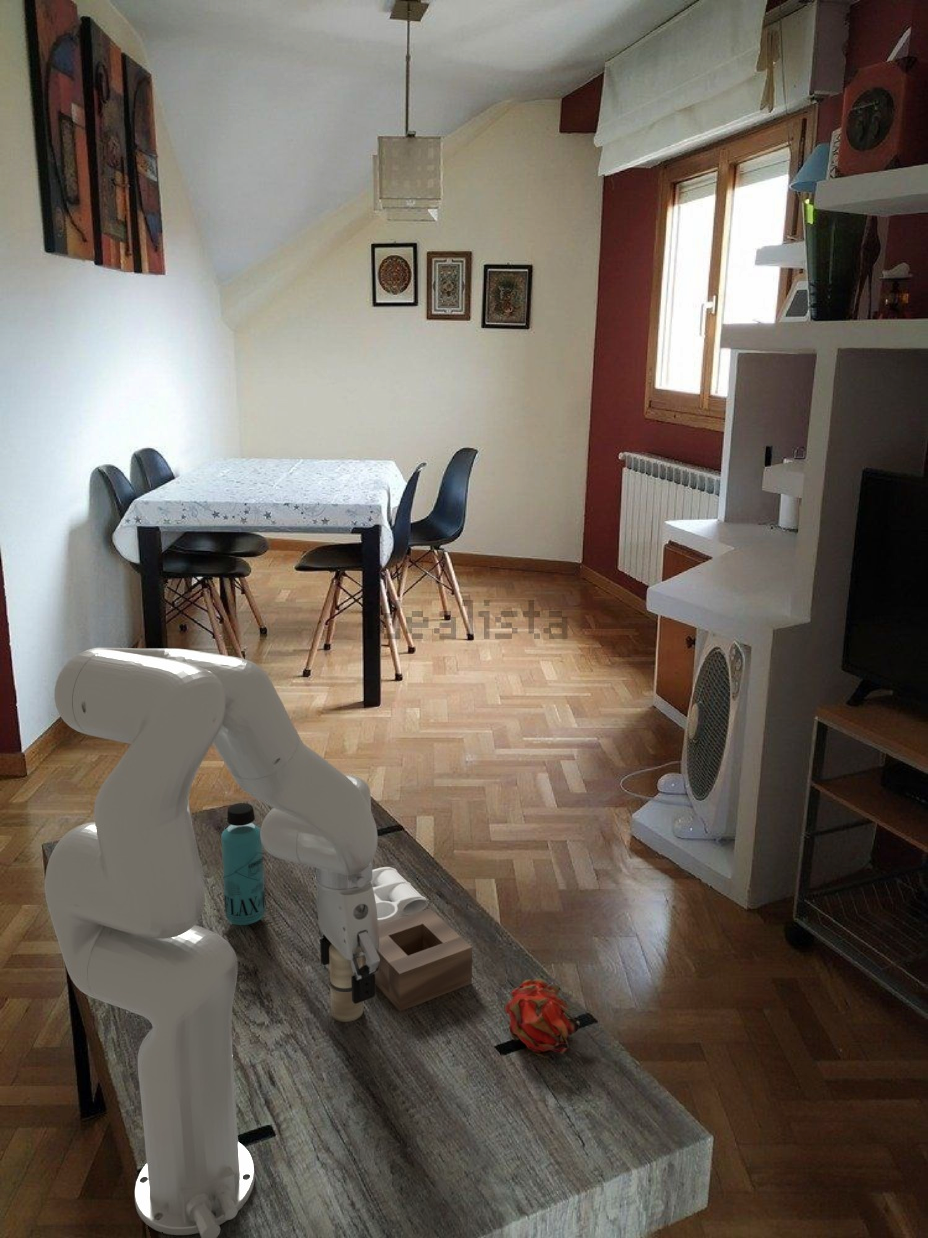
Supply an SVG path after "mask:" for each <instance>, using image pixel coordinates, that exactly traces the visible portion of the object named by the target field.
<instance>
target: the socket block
mask: <svg viewBox="0 0 928 1238" xmlns="http://www.w3.org/2000/svg"><path fill="white" fill-rule="evenodd" d="M378 929H379V950H378V951H377V954H378V956H379V958H380V962H379V965H378V971H377V972H376V973H375V986H376V987H377V988H378V989H380V991H381V992H382V993H383V994H384V995H385V996H386V998H387V1000H389V1002H390V1003H392V1005H393V1006H394V1007H395V1008H396V1009H397V1010H398V1011H399V1012H403V1011H405V1010H407V1009H411V1008H412V1007H416V1006H418V1005H420V1004H424V1003H425V1002H429V1001H431V1000H433V999H436V998H438V997H441V996H444V995H446V994H449V993H451V992H454V991H456V990H459V989H461V988H464V987H466V986H469V985H472V983H473V982H472V981H473V973H472V972H473V947H472V945H471V944H470V943H468V942H467V941H466V940H465V939H464V938H463V937H462V936H461V935H459V934H458V933H457V932H456V930H454V929H453V928H452V927H451V926H450V924H448V923H446V922H445V920H443V919H442V917H441V916H439V915H438V914H437V913H436V912H434V911H433V910H432V909H431V908H427V909H426V908H425V909H424V910H422V911H420V912H417V913H414V914H411V915H408V916H405V917H402V918H400V919H397V920H394V921H391V922H388V923H385V924H382V925H379V926H378ZM365 962H366V958H365V956H362V966H364V965H366V963H365Z"/></svg>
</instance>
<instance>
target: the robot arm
mask: <svg viewBox="0 0 928 1238" xmlns="http://www.w3.org/2000/svg"><path fill="white" fill-rule="evenodd" d="M53 695H54V703H55V707H56V710H57V712H58V715H59V716H60V717H61V719H62V720H63V722H64V723H65V724H67V726H69V727H70V728H71V729H73V730H75V731H76V732H79V733H81V734H84V735H87V736H91V737H95V738H96V737H97V738H101V739H106V740H112V741H115V742H119V743H124V744H129V746H128V748H127V749H126V751H125V753H123V755H122V757H121V759H120V760H119V762H118V763H116V765H115V766H114V768H113V769H112V771H111V772H110V773H109V775H108V776H107V778H105V780H104V782H103V784H102V785H100V788H99V790H98V792H97V794H96V796H95V797H96V798H95V801H94V808H93V820H94V821H93V822H91V821H90V822H86V823H83V824H80V825H77V826H75V827H74V828H71V830H69V831H67V832H66V833H65V834H64V835H63V836H62V838H60V840H59V841H58V842H57V844H56V845H55V846H54V849H53V851H52V852H51V854H50V856H49V860H48V863H47V865H46V870H45V877H44V895H45V900H46V905H47V908H48V912H49V915H50V919H51V922H52V926H53V928H54V932H55V936H56V938H57V941H58V946H59V949H60V952H61V955H62V959H63V961H64V965H65V968H66V970H67V973H68V975H69V977H70V979H71V981H72V982H73V984H74V985H75V987H76V988H77V989H78V990H79V991H80V992H82V993H84V994H85V995H86V996H89V997H90V998H93V999H95V1000H98V1001H101V1002H103V1003H106V1004H109V1005H110V1006H111V1005H112V1006H115V1007H118V1008H120V1009H123V1010H125V1011H129V1012H131V1013H133V1014H136V1015H138V1016H141V1017H143V1018H146V1019H147V1020H148V1021H149V1023H151V1026H152V1028H151V1029H150V1030H149V1031H148V1032H147V1034H146V1036H145V1037H143V1039H142V1042H141V1044H140V1047H139V1049H138V1053H137V1075H138V1083H139V1093H140V1104H141V1112H142V1124H143V1135H144V1146H145V1157H146V1158H145V1159H146V1164H145V1165H144V1166H143V1168H142V1169H141V1170H140V1172H139V1174H138V1176H137V1179H136V1180H135V1186H134V1204H135V1208H136V1212H137V1214H138V1216H139V1217H140V1220H142V1221H143V1223H145V1224H146V1225H147V1226H149V1228H151V1229H153V1230H154V1231H156V1232H160V1233H162V1232H163V1233H162V1234H166V1235H172V1236H173V1235H174V1236H189V1235H195V1234H199V1235H200V1238H218V1236H219V1235H220V1234H221V1227H220V1225H222V1224H224V1223H225V1222H227V1221H229V1220H233V1219H234V1218H235V1217H236V1216H237V1215H238V1212H239V1211H240V1210H241V1209H242V1208H243V1207H244V1205H245V1204H246V1202H247V1201H248V1200H249V1198H250V1196H251V1194H252V1192H253V1189H254V1186H255V1185H254V1184H255V1179H256V1178H255V1175H256V1173H255V1163H254V1161H253V1160H254V1159H253V1157H252V1155H251V1153H250V1151H248V1149H247V1148H246V1147H245V1146H244V1145H243V1144H242V1143H240V1142H239V1137H238V1136H239V1135H238V1134H239V1133H238V1121H237V1105H236V1104H237V1103H236V1102H237V1101H236V1089H235V1087H236V1086H235V1073H234V1072H235V1071H234V1070H235V1069H234V1057H233V1056H234V1055H233V1039H232V1038H233V1037H232V1036H233V1035H232V1017H233V1004H234V996H235V991H236V984H237V980H238V979H237V978H238V968H239V967H238V958H237V956H236V955H237V954H236V952H235V950H234V948H233V946H232V945H231V944H230V943H229V942H228V941H227V940H226V939H225V938H223V937H222V936H221V935H220V934H218V933H216V932H214V931H212V930H210V929H209V928H208V929H207V928H205V927H203V926H199V925H196V924H197V923H198V921H199V920H200V918H201V916H202V915H203V914H202V913H203V910H204V908H205V901H206V888H205V887H206V886H205V879H204V873H203V868H202V863H201V860H200V855H199V854H200V853H199V849H198V844H197V840H196V836H195V830H194V827H193V822H192V816H191V809H190V794H191V790H192V785H193V782H194V781H195V778H196V775H197V772H198V771H199V768H200V767H201V765H202V763H203V760H204V759H205V758H206V755H207V753H208V752H209V750H210V748H211V746H212V745H213V747H214V748H215V750H216V751H217V754H218V755H219V756H220V758H221V760H222V761H223V763H224V764H225V766H226V768H227V770H228V772H230V774H231V776H232V779H234V781H235V783H236V784H237V785H238V787H239V788H240V789H241V790H242V791H243V792H245V793H247V794H248V796H249V795H250V796H251V797H253V798H254V799H256V800H258V801H259V802H261V803H263V804H264V805H267V806H269V807H271V808H272V809H270V811H269V812H268V813H267V814H266V816H265V817H264V819H263V821H262V824H261V827H260V829H261V832H260V838H261V843H262V848H264V850H265V851H266V853H268V854H269V855H270V856H273V857H274V858H276V859H279V860H283V861H286V862H290V863H295V864H298V865H302V866H307V867H312V868H314V871H315V872H314V873H315V884H316V887H317V888H316V889H317V891H316V893H317V894H316V897H315V899H314V902H315V906H316V910H317V911H316V912H317V914H316V920H317V922H318V926H319V928H318V929H317V930H318V935H319V937H320V939H319V949H320V963H321V964H322V965H323V966H326V965H330V960H329V947H330V945H331V944H332V945H333V946H334V947H335V948H336V949H337V950H338V952H339V953H340V954H341V955H342V956H343V957H344V958H346V959H347V960H350V963H351V967H352V970H353V973H354V976H351V982H352V1001H353V1002H354V1003H355V1004H357V1003H359V1002H362V1001H363V1002H364V1001H366V1000H367V1001H368V1000H370V999H372V998H374V997H375V996H376V984H375V973H376V972H377V971H378V965H379V962H380V958H379V956H378V954H377V951H378V950H379V929H378V917H377V908H376V901H375V896H374V891H373V886H372V884H371V881H372V877H373V873H372V870H373V860H374V857H375V856H376V852H377V848H378V841H379V840H378V830H377V824H376V821H375V820H376V819H374V815H373V813H372V804H371V803H372V800H371V799H372V798H371V789H370V786H369V785H368V784H367V782H366V781H365V780H364V779H362V778H360V777H359V776H355V775H349V774H344V773H343V772H341V771H340V770H339V769H337V768H336V767H335V766H334V765H332V764H331V763H330V762H329V761H328V760H326V759H325V758H324V757H323V756H321V755H319V753H317V752H316V751H314V750H313V749H312V748H310V747H309V746H307V745H306V744H304V742H303V741H302V739H301V737H300V734H299V732H298V730H297V729H296V727H295V725H294V723H293V721H292V720H291V717H290V716H289V715H290V714H288V711H287V709H286V708H285V706H284V704H283V702H282V700H281V698H280V696H279V694H278V692H277V690H276V688H275V686H274V683H273V682H272V680H271V678H270V677H269V675H268V673H267V672H266V671H265V670H264V669H263V668H262V667H261V666H260V665H258V664H257V663H255V662H253V661H251V660H248V659H245V658H241V657H237V656H231V655H225V654H219V653H212V652H207V651H200V650H194V649H188V648H187V649H184V648H138V647H137V648H136V647H135V648H130V647H129V648H128V647H93V648H89V649H87V650H83V651H81V652H79V653H78V654H76V655H75V656H73V657H72V658H70V659H69V661H67V662H66V664H65V665H64V666H63V667H62V668H61V671H60V672H59V673H58V676H57V678H56V681H55V686H54V694H53ZM357 947H361V949H362V951H361V952H358V953H356V954H354V953H355V951H356V949H357ZM362 956H365V958H366V962H365V963H366V965H364V966H362V967H361V968H360V969H359V966H358V962H357V958H360V957H362Z"/></svg>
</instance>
